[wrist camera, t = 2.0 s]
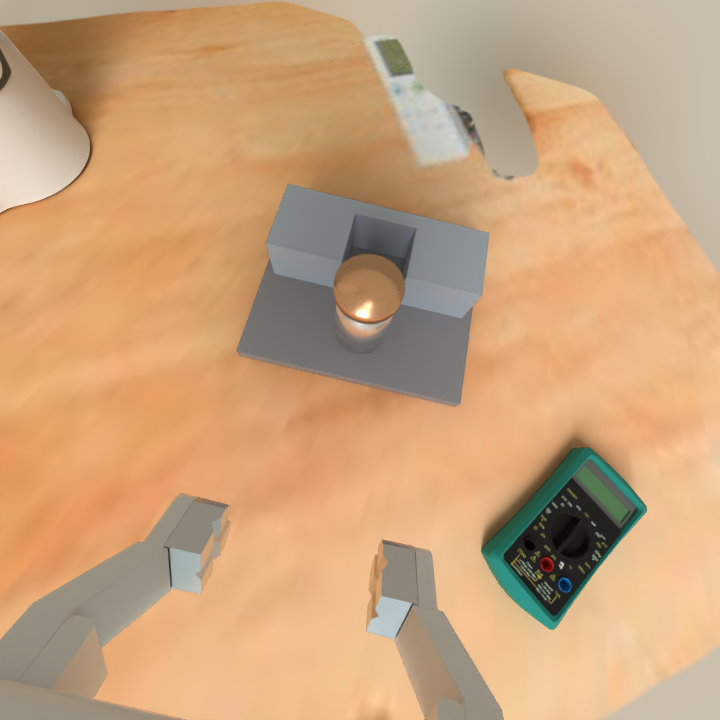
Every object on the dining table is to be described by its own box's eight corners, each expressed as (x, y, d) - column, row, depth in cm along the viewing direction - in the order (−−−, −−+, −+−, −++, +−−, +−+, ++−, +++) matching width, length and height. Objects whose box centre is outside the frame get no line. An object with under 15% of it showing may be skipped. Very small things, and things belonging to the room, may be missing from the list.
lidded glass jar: (327, 348, 33) (325, 308, 25) (340, 300, 35) (343, 246, 26) (381, 361, 33) (398, 325, 25) (391, 312, 35) (410, 263, 26)
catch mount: (240, 355, 34) (220, 330, 28) (288, 219, 39) (280, 173, 33) (454, 406, 34) (482, 393, 28) (473, 264, 39) (500, 226, 33)
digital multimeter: (472, 553, 31) (487, 562, 28) (572, 445, 34) (594, 443, 32) (532, 625, 29) (553, 642, 26) (629, 504, 33) (656, 508, 30)
